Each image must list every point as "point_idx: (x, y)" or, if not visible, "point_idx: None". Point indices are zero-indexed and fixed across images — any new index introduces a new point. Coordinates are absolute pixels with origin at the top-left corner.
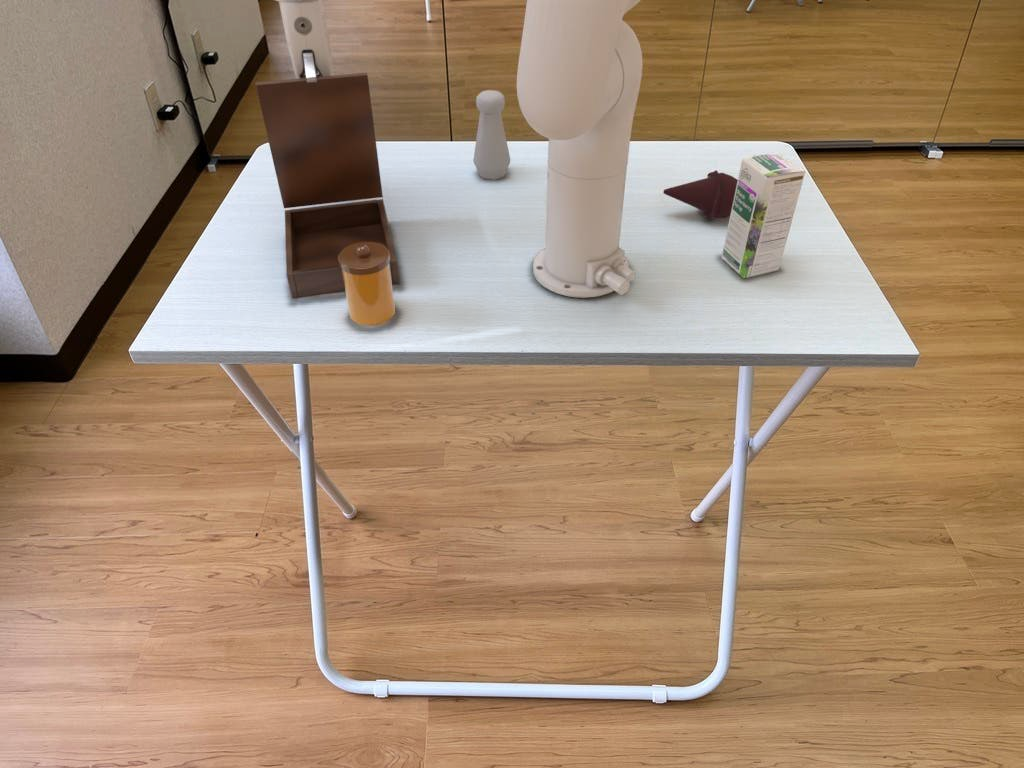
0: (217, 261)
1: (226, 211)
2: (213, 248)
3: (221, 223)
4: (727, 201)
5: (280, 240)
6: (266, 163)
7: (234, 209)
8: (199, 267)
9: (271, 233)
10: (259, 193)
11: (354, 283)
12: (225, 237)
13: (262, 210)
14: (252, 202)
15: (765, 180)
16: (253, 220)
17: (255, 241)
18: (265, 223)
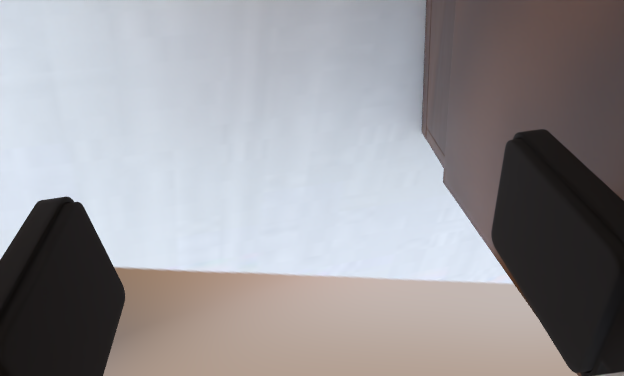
0: (474, 249)
1: (271, 272)
2: (422, 264)
3: (323, 271)
4: None
5: (428, 152)
6: (4, 242)
7: (263, 261)
8: (485, 270)
9: (389, 175)
10: (183, 230)
11: None
12: (384, 254)
13: (273, 210)
14: (231, 235)
15: None
16: (320, 219)
17: (417, 200)
18: (339, 194)
